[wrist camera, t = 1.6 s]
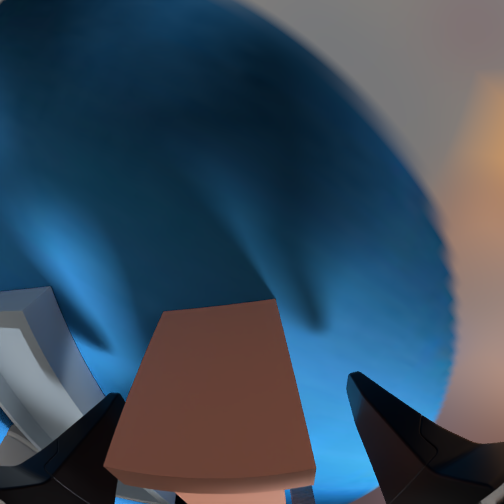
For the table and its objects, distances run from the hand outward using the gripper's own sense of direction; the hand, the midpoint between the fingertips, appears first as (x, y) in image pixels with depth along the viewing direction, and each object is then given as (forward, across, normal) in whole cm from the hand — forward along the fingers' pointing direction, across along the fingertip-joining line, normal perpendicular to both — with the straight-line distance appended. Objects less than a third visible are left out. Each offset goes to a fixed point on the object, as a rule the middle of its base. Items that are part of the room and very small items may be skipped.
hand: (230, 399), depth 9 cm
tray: (+2, +12, +5) cm, 13 cm away
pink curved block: (+2, 0, +5) cm, 5 cm away
